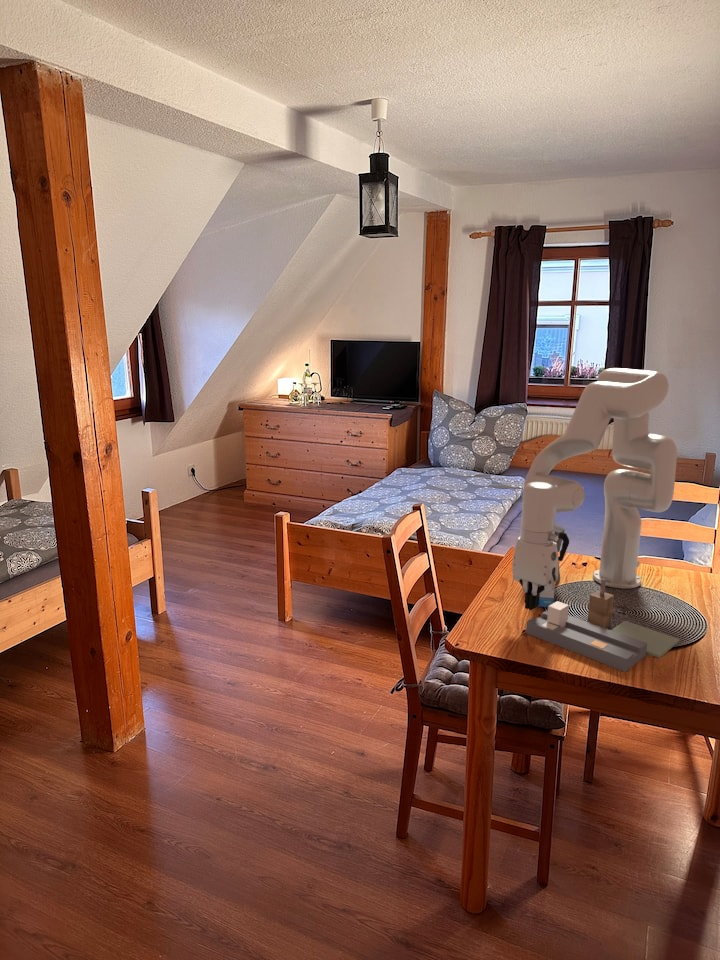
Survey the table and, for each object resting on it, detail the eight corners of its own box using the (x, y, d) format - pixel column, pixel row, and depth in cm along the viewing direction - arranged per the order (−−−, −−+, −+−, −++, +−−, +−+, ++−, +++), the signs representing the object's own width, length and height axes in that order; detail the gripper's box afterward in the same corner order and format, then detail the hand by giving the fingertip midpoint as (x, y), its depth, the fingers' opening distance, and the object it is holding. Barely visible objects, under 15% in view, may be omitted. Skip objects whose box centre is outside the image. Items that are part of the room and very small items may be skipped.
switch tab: (555, 620, 159) (557, 601, 158) (567, 624, 157) (568, 605, 156) (546, 625, 157) (548, 606, 155) (558, 630, 154) (560, 610, 153)
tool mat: (624, 622, 163) (624, 620, 163) (679, 641, 154) (679, 639, 154) (602, 637, 156) (603, 635, 155) (659, 658, 146) (659, 655, 146)
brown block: (595, 620, 164) (599, 574, 161) (610, 626, 161) (615, 579, 158) (587, 625, 161) (591, 579, 158) (602, 631, 159) (607, 584, 156)
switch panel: (548, 619, 164) (549, 608, 164) (645, 655, 148) (647, 642, 147) (525, 633, 158) (526, 621, 157) (625, 672, 141) (626, 658, 140)
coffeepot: (515, 572, 194) (519, 512, 189) (541, 567, 198) (546, 509, 193) (550, 592, 180) (555, 528, 176) (577, 587, 184) (583, 524, 179)
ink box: (554, 608, 171) (557, 564, 168) (533, 606, 172) (537, 563, 169) (551, 594, 179) (555, 553, 176) (532, 593, 180) (535, 551, 177)
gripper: (574, 539, 154) (567, 613, 159) (518, 524, 164) (513, 594, 169) (557, 547, 149) (550, 622, 153) (500, 531, 159) (496, 602, 164)
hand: (531, 607), depth 161 cm, fingers closed
